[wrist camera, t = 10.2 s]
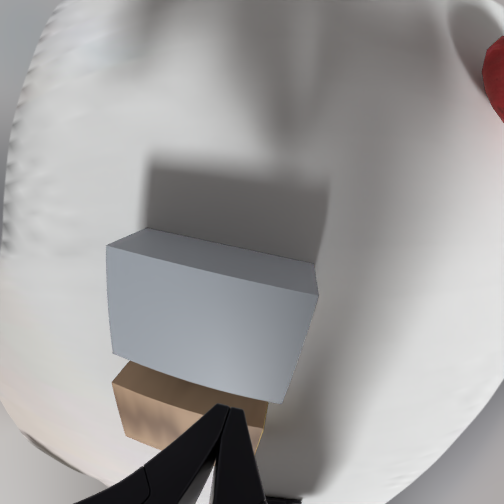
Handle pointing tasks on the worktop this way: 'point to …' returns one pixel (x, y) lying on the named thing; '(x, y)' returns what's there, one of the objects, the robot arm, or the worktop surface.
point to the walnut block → (173, 406)
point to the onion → (495, 76)
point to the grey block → (209, 311)
